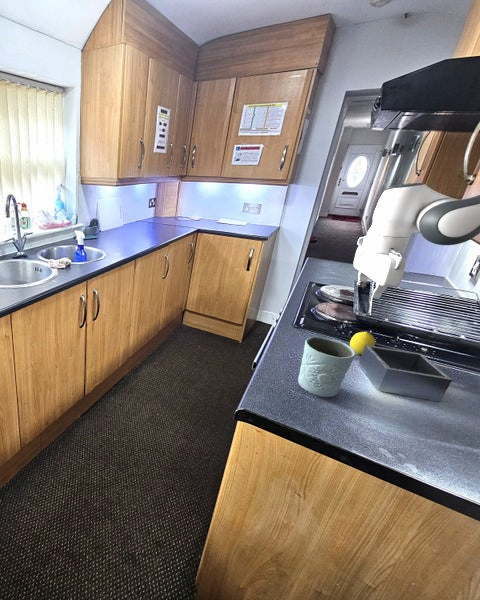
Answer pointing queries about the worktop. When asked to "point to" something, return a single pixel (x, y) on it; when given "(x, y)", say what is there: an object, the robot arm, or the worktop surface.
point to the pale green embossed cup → (324, 365)
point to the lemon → (361, 341)
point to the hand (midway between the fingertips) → (367, 291)
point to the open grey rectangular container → (403, 373)
